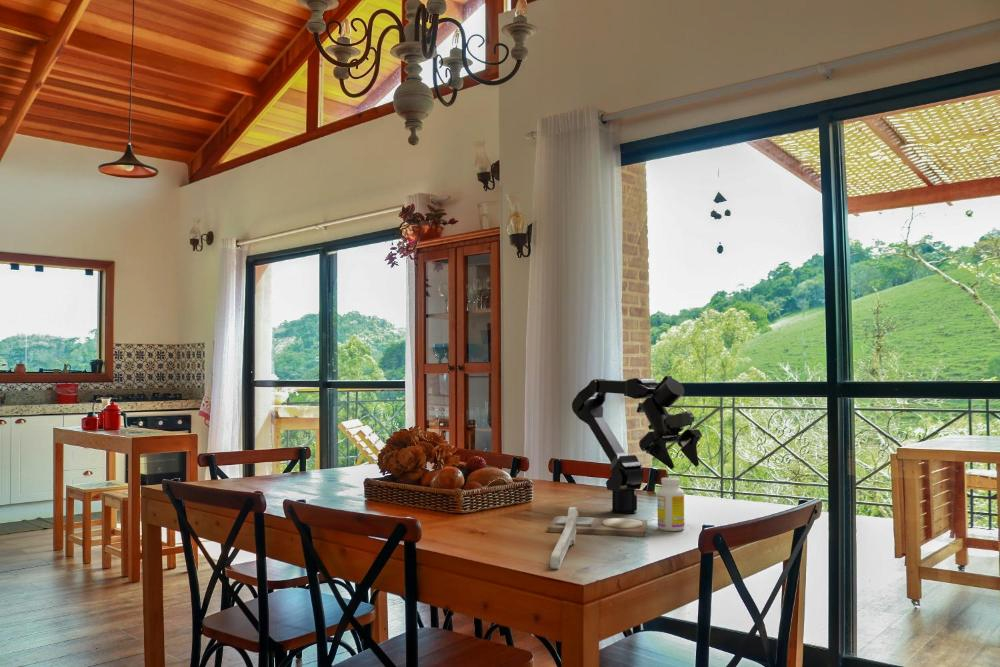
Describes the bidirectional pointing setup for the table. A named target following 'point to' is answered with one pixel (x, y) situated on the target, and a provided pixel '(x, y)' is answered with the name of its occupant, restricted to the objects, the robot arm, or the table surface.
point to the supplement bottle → (670, 505)
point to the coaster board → (602, 526)
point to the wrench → (565, 539)
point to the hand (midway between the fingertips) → (685, 467)
